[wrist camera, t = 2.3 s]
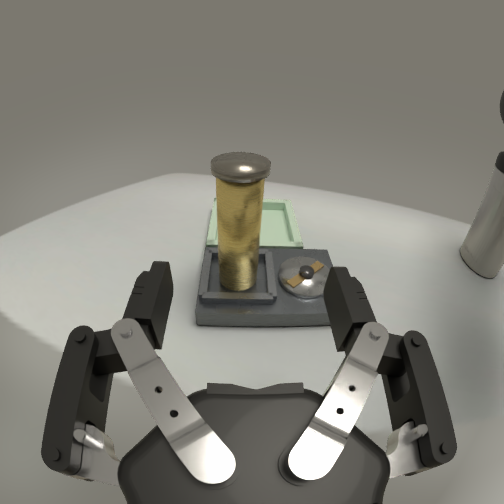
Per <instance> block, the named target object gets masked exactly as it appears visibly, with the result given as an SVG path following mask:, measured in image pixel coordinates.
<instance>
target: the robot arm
mask: <svg viewBox="0 0 504 504" xmlns="http://www.w3.org/2000/svg"><path fill="white" fill-rule="evenodd" d="M500 113H501V117H502V120H503V123H504V91H503V94H502V97H501V100H500ZM460 253H461V256H462V258H463V259H464V261H465V262H466V263H467V265H468V266H469V267H470V268H471V269H473V270H474V271H475V272H476V273H478V274H479V275H481V276H483V277H486V278H494V277H495V276H496V274H497V273H498V272H499V270H500V269H501V267H502V266H503V264H504V152H500V153H499V155H498V157H497V160H496V163H495V166H494V170H493V173H492V176H491V178H490V182H489V184H488V187H487V190H486V192H485V195H484V198H483V200H482V203H481V205H480V208H479V210H478V212H477V215H476V217H475V219H474V221H473V224H472V226H471V228H470V230H469V232H468V234H467V236H466V238H465V240H464V242H463V244H462V246H461V248H460ZM172 297H173V281H172V276H171V270H170V264H169V262H162V261H154V262H153V263H152V266H151V269H150V271H143V272H142V273H141V274H140V275H139V276H138V278H137V279H136V282H135V285H134V288H133V290H132V294H131V296H130V298H129V301H128V304H127V307H126V310H125V313H124V315H123V318H122V319H121V320H119V321H118V322H116V323H115V324H114V325H113V327H112V329H109V330H104V331H98V332H94V331H93V330H92V329H91V328H90V327H88V326H79V327H76V328H75V329H74V330H72V332H71V333H70V335H69V337H68V340H67V343H66V346H65V349H64V352H63V355H62V359H61V362H60V365H59V369H58V372H57V376H56V380H55V383H54V387H53V391H52V395H51V400H50V405H49V409H48V413H47V419H46V423H45V429H44V435H43V441H42V448H41V455H42V458H43V461H44V463H45V464H46V465H47V466H48V467H49V468H50V469H52V470H55V471H57V472H60V473H62V474H64V475H66V476H70V477H73V478H76V479H82V480H86V481H99V482H102V483H106V484H110V485H115V486H120V488H121V490H122V492H123V494H124V496H125V498H126V501H127V504H382V501H383V495H384V491H385V488H386V485H387V482H388V480H389V479H390V478H393V477H397V476H401V475H405V476H411V475H414V474H417V473H420V472H423V471H426V470H429V469H431V468H434V467H437V466H439V465H442V464H444V463H447V462H449V461H450V460H451V459H452V458H453V457H454V455H455V453H456V450H457V443H456V438H455V434H454V429H453V425H452V420H451V416H450V412H449V409H448V405H447V401H446V398H445V394H444V391H443V387H442V384H441V381H440V378H439V375H438V372H437V369H436V366H435V363H434V360H433V357H432V354H431V351H430V349H429V346H428V343H427V341H426V339H425V337H424V336H423V335H422V334H421V333H419V332H417V331H408V332H407V333H406V334H405V335H404V336H399V335H394V334H390V333H388V331H387V329H386V328H385V327H384V326H383V325H381V324H380V323H377V321H376V319H375V316H374V314H373V311H372V309H371V306H370V304H369V301H368V300H367V296H366V294H365V291H364V289H363V287H362V284H361V283H360V282H359V281H358V280H357V279H356V278H355V277H350V274H349V272H348V269H347V268H346V267H331V268H330V271H329V274H328V277H327V280H326V283H325V286H324V291H323V298H324V302H325V306H326V310H327V313H328V317H329V321H330V325H331V329H332V333H333V337H334V341H335V345H336V349H337V352H340V351H345V354H346V356H345V358H344V360H343V361H342V363H341V365H340V367H339V369H338V370H337V372H336V374H335V376H334V377H333V379H332V381H331V383H330V384H329V386H328V388H327V389H326V391H325V392H324V394H323V395H320V394H318V393H316V392H314V391H311V390H308V389H304V388H303V383H284V384H277V385H273V386H269V387H265V388H262V389H257V390H255V389H250V388H246V387H241V386H237V385H233V384H218V383H207V389H203V390H200V391H197V392H194V393H192V394H190V395H189V396H187V397H186V396H185V394H184V393H183V391H182V390H181V388H180V387H179V385H178V384H177V383H176V381H175V380H174V378H173V377H172V375H171V374H170V372H169V370H168V369H167V367H166V366H165V364H164V363H163V361H162V360H161V358H160V357H158V356H157V354H156V352H155V351H154V350H155V349H162V344H163V339H164V334H165V329H166V324H167V319H168V315H169V310H170V306H171V301H172ZM123 371H128V374H129V376H130V378H131V380H132V382H133V384H134V386H135V387H136V389H137V391H138V393H139V395H140V396H141V398H142V400H143V402H144V403H145V405H146V407H147V409H148V410H149V412H150V413H151V415H152V417H153V419H154V420H155V421H156V423H157V426H156V427H154V428H153V429H152V430H151V431H150V432H149V433H148V434H147V435H146V436H145V437H144V438H143V439H142V440H141V441H140V442H139V443H138V444H136V445H135V446H134V447H133V448H132V449H131V450H130V451H129V452H128V453H127V454H126V455H125V456H124V457H123V458H122V460H121V461H119V460H118V459H117V457H116V455H115V452H114V444H113V442H112V440H111V438H110V437H109V436H108V435H106V434H105V433H104V432H105V424H106V417H107V409H108V403H109V396H110V390H111V385H112V379H113V374H114V373H117V372H123ZM377 374H381V375H382V380H383V384H384V389H385V393H386V398H387V403H388V408H389V413H390V418H391V424H392V429H393V432H392V433H391V434H390V435H389V437H388V440H387V450H386V452H384V451H383V450H382V449H381V448H380V447H378V445H376V444H375V443H374V442H373V441H372V440H371V439H369V438H368V437H367V436H366V435H365V434H364V433H363V432H362V431H361V430H359V429H358V428H357V427H356V426H355V425H354V424H355V422H356V420H357V418H358V416H359V414H360V412H361V410H362V408H363V406H364V404H365V402H366V399H367V397H368V395H369V393H370V391H371V389H372V386H373V384H374V382H375V379H376V377H377Z"/></svg>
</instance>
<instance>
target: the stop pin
mask: <svg viewBox="0 0 504 504" xmlns="http://www.w3.org/2000/svg"><path fill="white" fill-rule="evenodd" d="M270 166H271V162H270V161H269V160H268V159H267V158H266V157H264V156H261V155H258V154H253V153H246V152H232V153H225V154H221V155H218V156H216V157H214V158H213V159H212V161H211V173H212V175H213V176H214V177H216V200H217V234H218V260H219V279H220V282H221V284H222V285H223V286H225V287H226V288H228V289H231V290H235V291H241V290H246V289H249V288H250V287H252V286H253V285H254V284H255V283H256V280H257V270H258V257H259V245H260V232H261V219H262V206H263V193H264V180H265V178H267V177H268V176H269V174H270Z"/></svg>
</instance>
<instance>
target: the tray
mask: <svg viewBox="0 0 504 504" xmlns="http://www.w3.org/2000/svg"><path fill="white" fill-rule="evenodd" d="M206 247H218V234H217V200H216V198H215V199H214V204H213V209H212V214H211V220H210V225H209V231H208V236H207V242H206ZM259 248H274V249H303V243H302V240H301V236H300V232H299V229H298V225H297V221H296V218H295V214H294V211H293V207H292V204H291V200H277V199H263V206H262V219H261V232H260V245H259Z"/></svg>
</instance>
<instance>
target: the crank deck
mask: <svg viewBox="0 0 504 504" xmlns="http://www.w3.org/2000/svg"><path fill="white" fill-rule="evenodd" d="M331 267H333V265H332V262H331V259H330V257H329V254H328V251H327V250H317V249H274V248H259V257H258V270H257V280H256V283H255V284H254V285H253V286H252V287H250V288H249V289H246V290H241V291H235V290H231V289H228V288H226V287H225V286H223V285H222V284H221V282H220V279H219V260H218V247H206V248H205V253H204V259H203V265H202V272H201V278H200V284H199V291H198V297H197V304H196V311H195V314H196V320H197V325H215V326H312V325H330V321H329V317H328V313H327V310H326V306H325V302H324V298H323V291H324V286H325V283H326V280H327V277H328V274H329V271H330V268H331Z"/></svg>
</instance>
